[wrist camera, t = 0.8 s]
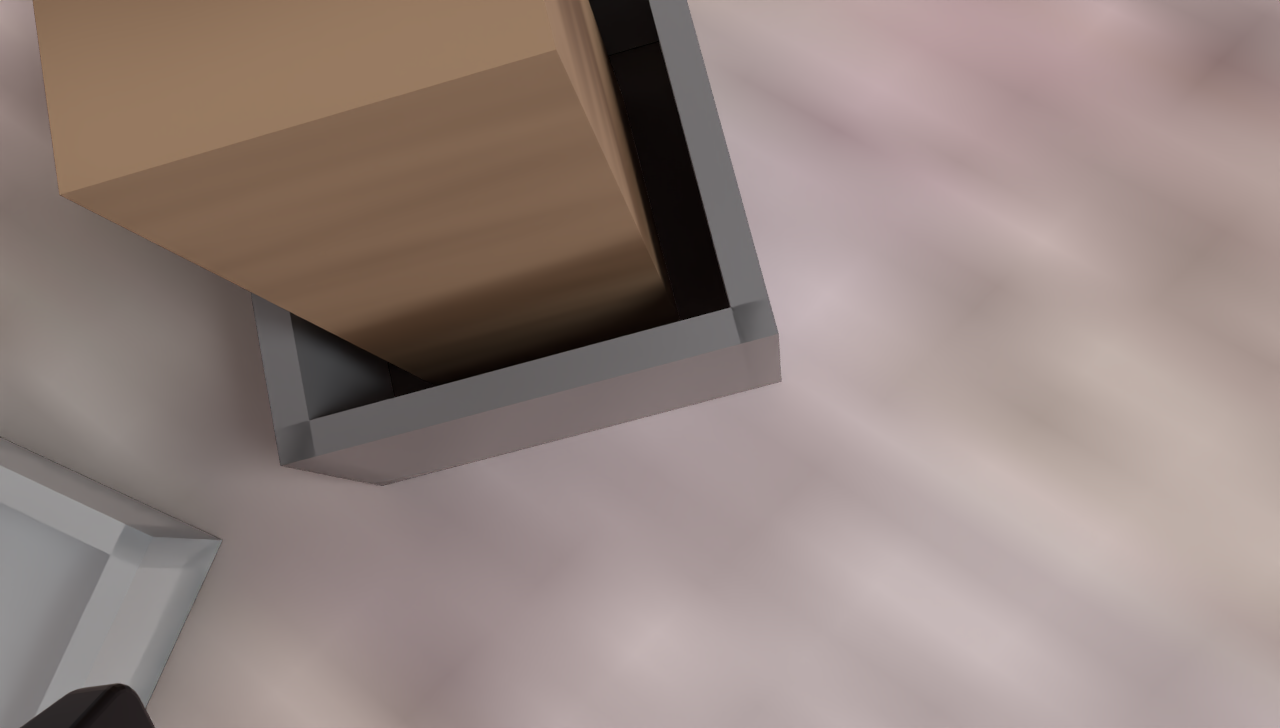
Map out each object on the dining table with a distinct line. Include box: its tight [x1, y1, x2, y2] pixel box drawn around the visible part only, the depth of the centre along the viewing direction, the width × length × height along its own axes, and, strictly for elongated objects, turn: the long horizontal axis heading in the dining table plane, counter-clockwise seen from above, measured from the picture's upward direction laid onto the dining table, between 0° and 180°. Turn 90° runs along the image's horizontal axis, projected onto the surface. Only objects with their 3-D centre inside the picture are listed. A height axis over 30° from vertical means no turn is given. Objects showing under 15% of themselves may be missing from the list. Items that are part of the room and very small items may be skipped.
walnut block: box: [33, 0, 681, 386], centre depth 17 cm, size 5×5×12 cm
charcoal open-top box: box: [251, 0, 781, 486], centre depth 20 cm, size 8×8×4 cm
